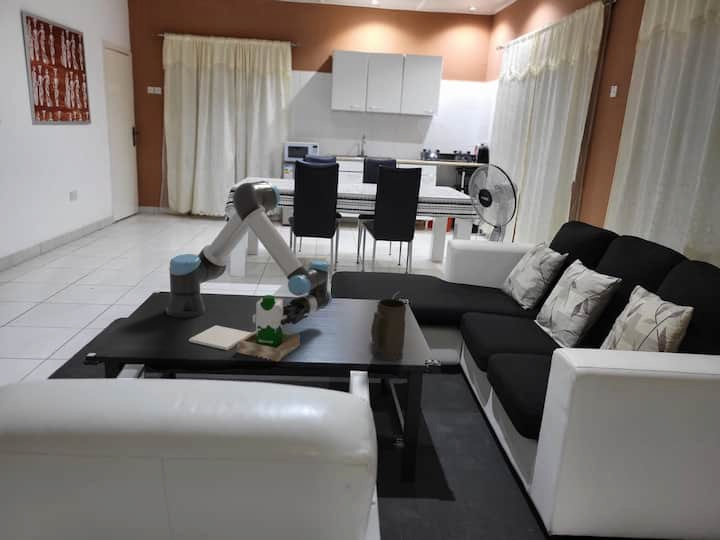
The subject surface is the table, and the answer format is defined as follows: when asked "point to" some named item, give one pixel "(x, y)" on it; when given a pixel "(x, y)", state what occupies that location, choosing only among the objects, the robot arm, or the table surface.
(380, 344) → the beer stein
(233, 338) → the tile
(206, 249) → the robot arm
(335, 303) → the table surface
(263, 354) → the wooden square tray
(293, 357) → the table surface
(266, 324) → the soya milk
